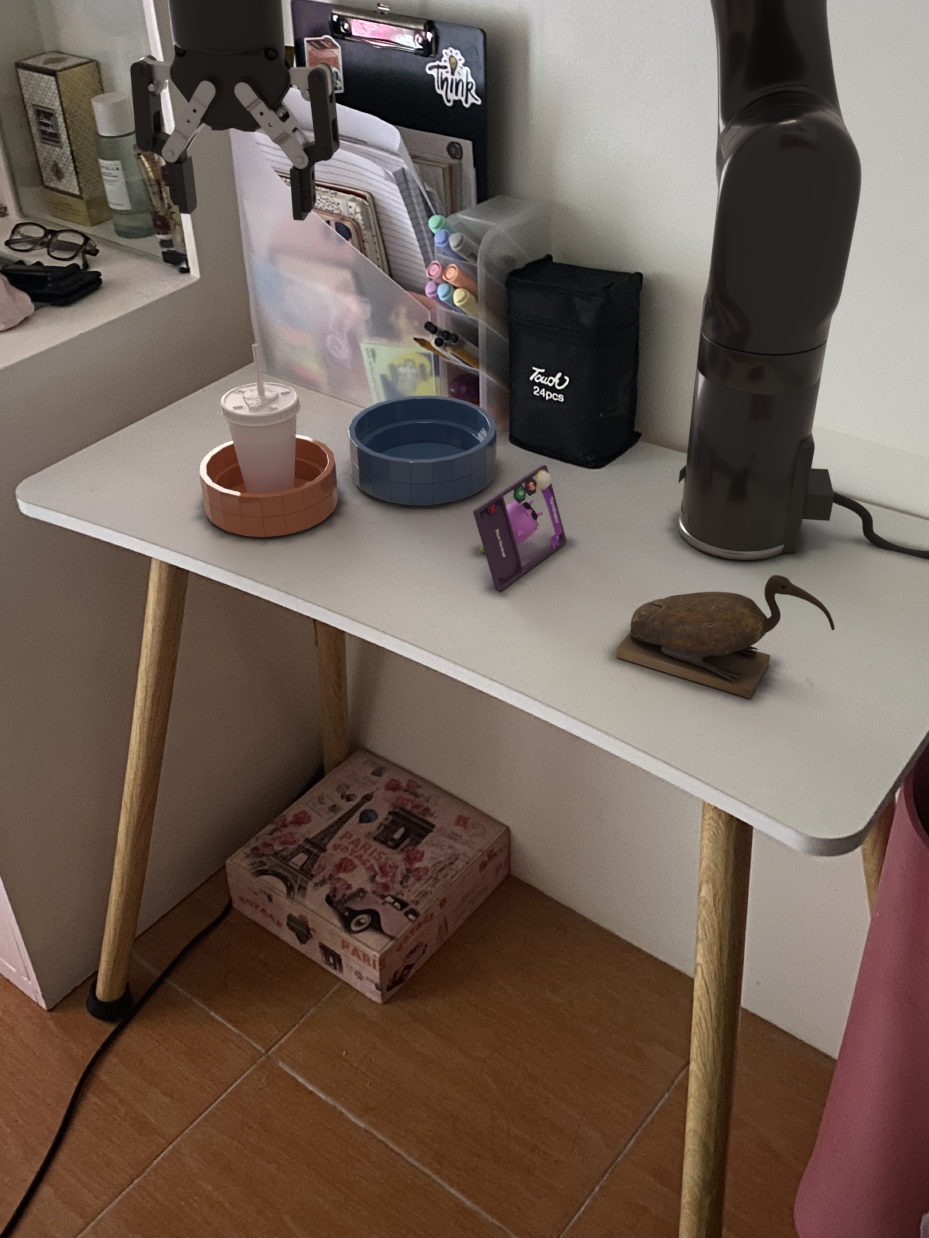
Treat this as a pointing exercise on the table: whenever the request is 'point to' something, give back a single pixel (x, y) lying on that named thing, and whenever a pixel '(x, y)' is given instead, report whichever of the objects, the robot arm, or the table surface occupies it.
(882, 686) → the table surface
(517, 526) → the purple framed piece
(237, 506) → the terracotta bowl
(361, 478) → the blue bowl
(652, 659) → the figurine
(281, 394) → the smoothie
